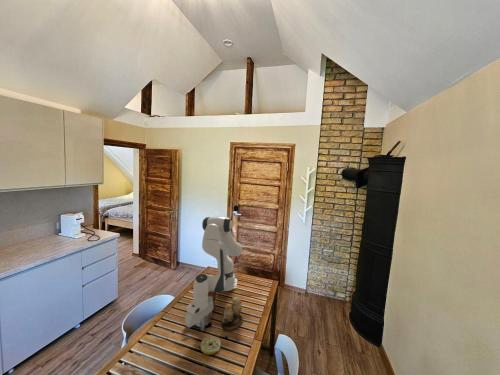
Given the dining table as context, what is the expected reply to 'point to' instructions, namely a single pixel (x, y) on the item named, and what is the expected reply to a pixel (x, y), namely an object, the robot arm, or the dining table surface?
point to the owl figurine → (232, 315)
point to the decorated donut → (210, 345)
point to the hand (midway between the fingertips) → (199, 325)
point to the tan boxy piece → (207, 319)
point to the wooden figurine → (213, 295)
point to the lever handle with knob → (202, 325)
